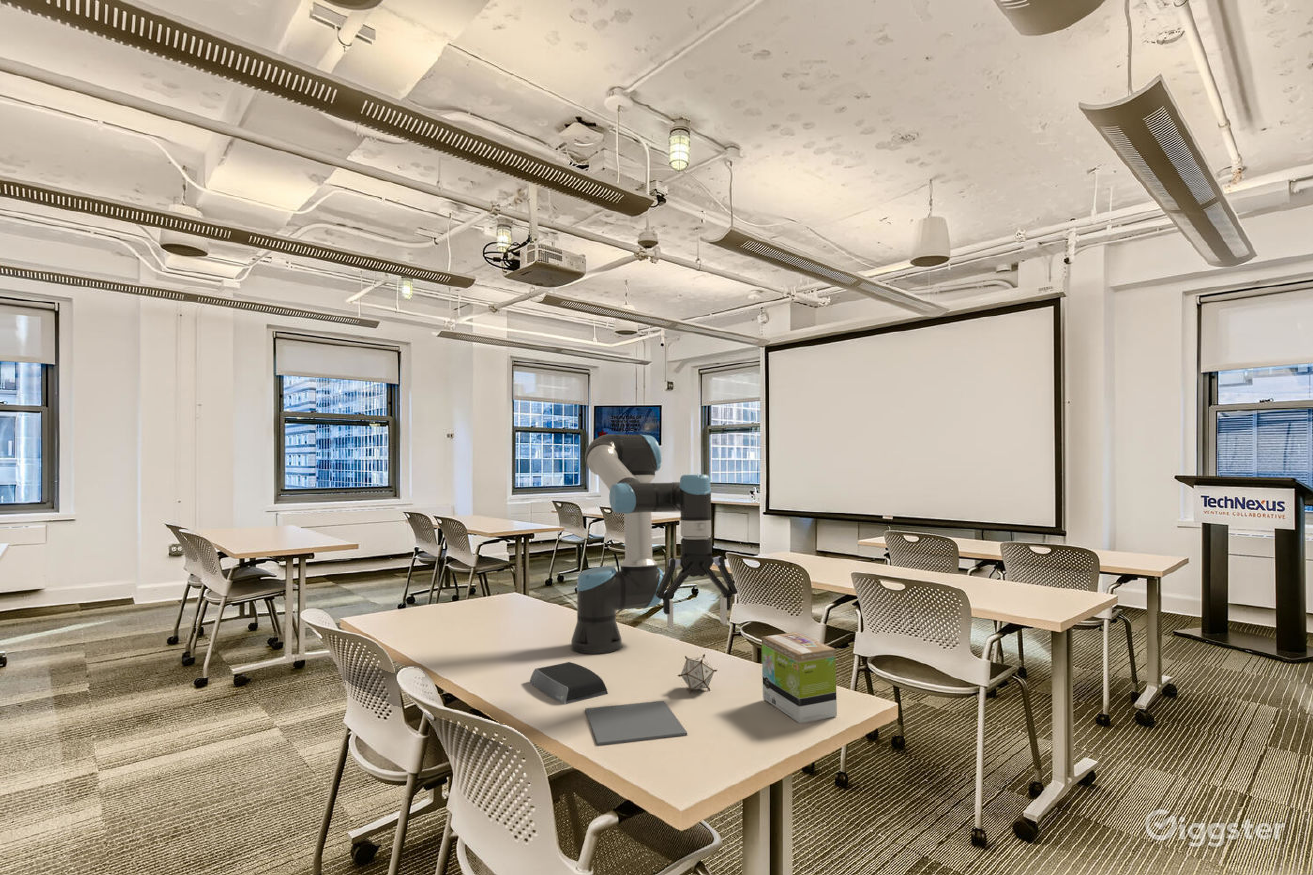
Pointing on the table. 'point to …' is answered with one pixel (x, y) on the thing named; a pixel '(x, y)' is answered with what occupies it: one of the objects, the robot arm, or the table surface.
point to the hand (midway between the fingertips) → (697, 625)
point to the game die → (697, 673)
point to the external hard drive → (568, 682)
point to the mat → (633, 722)
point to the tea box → (799, 676)
